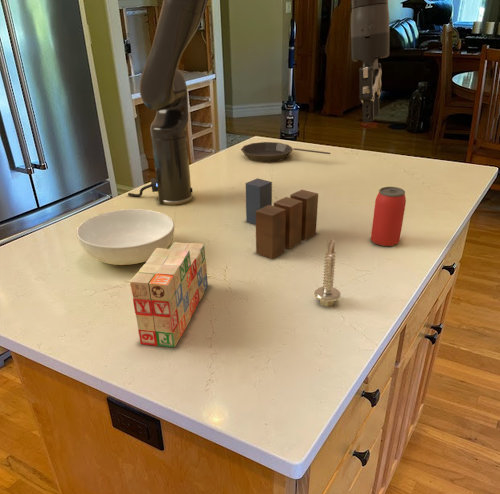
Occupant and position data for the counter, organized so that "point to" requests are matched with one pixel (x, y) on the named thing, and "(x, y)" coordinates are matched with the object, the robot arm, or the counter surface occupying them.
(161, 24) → the robot arm
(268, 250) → the line block
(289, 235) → the line block
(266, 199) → the block
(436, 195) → the counter surface
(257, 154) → the frying pan
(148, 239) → the serving bowl
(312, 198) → the line block
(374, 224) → the beer can
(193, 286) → the stack of blocks
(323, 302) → the screw
